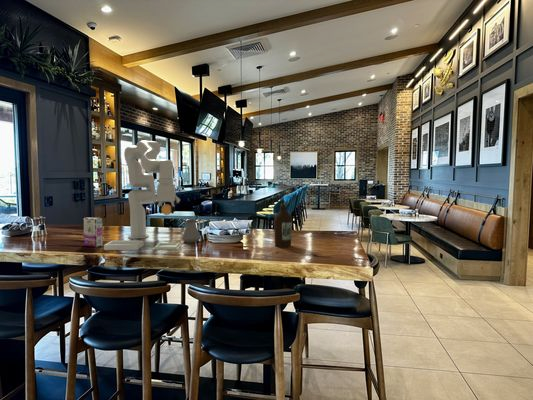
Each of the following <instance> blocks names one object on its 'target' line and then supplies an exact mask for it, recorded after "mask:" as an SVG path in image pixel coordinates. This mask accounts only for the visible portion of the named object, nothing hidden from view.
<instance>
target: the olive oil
mask: <svg viewBox="0 0 533 400" xmlns="http://www.w3.org/2000/svg"><path fill="white" fill-rule="evenodd" d="M279 209H280V210H279V211H278V212H277V213H276V214H275V216H274V219H273V227H274V247H276V248H281V249H282V248H290V247H291V246H292V239H293V238H292V229H293V217H292V215H291V214H290V213H289V212H288V210H287V203H280V207H279Z"/></svg>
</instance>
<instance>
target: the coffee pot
mask: <svg viewBox="0 0 533 400" xmlns="http://www.w3.org/2000/svg"><path fill="white" fill-rule="evenodd" d="M198 218H199V214H197V215H196V216H195V218H194V220H186V221H185V223H186V226H185V228H184V231H183V233H182V236H181V239H182V240H183V242H184V243H186V244H187V243H189V244H191V243H192V244H194V243H197V241H200V239H201V234H200V232H199V230H198V227H197V225H196V224H197V219H198Z"/></svg>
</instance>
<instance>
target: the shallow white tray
mask: <svg viewBox="0 0 533 400" xmlns="http://www.w3.org/2000/svg"><path fill="white" fill-rule="evenodd" d="M144 245H145V241H144V240H138V239H134V240H133V239H131V240H111V241H109V242H107V243H105V244H103V249H104V251H138V250H139V249H141V248H143V247H144Z"/></svg>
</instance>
